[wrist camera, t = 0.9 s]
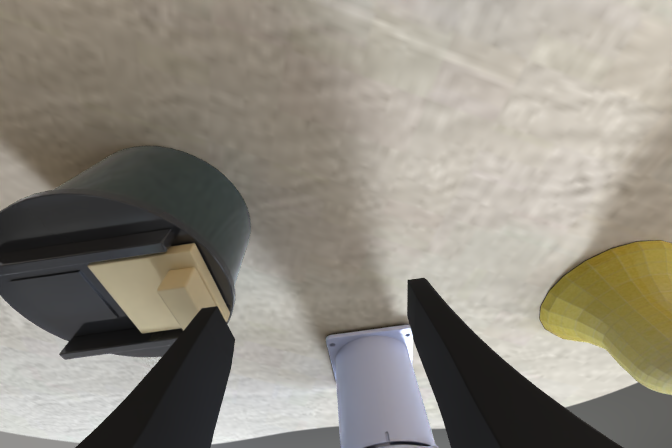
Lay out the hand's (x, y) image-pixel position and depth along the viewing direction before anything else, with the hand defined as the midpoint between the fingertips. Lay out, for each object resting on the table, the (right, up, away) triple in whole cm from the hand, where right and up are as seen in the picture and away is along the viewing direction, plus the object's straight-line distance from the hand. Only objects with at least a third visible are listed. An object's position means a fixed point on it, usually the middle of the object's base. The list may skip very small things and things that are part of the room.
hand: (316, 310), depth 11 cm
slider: (-7, 0, +3) cm, 8 cm away
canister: (-10, +4, +8) cm, 13 cm away
